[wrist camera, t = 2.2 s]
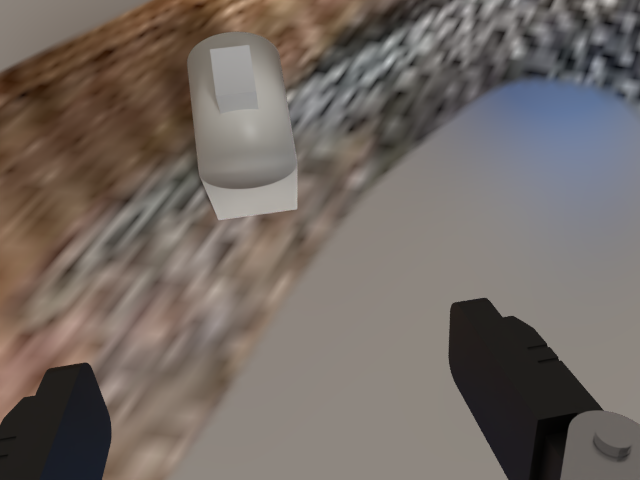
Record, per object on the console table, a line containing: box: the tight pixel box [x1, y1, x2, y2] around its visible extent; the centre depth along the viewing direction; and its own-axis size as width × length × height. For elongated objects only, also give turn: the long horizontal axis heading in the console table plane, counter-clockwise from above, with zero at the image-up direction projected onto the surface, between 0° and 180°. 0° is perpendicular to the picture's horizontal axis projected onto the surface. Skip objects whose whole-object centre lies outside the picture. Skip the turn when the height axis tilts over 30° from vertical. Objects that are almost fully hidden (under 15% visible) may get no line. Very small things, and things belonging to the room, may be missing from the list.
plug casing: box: [187, 32, 297, 220], centre depth 26 cm, size 4×6×9 cm
